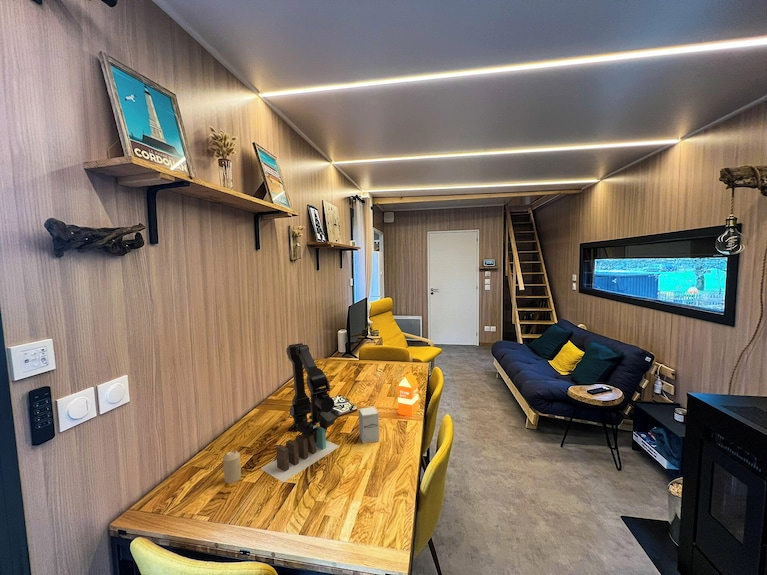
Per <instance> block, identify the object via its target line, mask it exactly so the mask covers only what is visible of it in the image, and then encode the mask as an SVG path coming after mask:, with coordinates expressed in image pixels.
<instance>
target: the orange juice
mask: <svg viewBox="0 0 767 575" xmlns="http://www.w3.org/2000/svg"><path fill="white" fill-rule="evenodd" d="M397 406H398V407H397V408H398V414H399V415H403V416H408V417H414V415H415V414H416V413H417V412H418V411H419V407H420V406H419V382H418V381H417V378H416V377H415V375H414V374H413V372H412V371H409V372H408V373H406V375H404V376H403V378H402V379H401V381H400V382H399V384H398V385H397Z"/></svg>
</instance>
